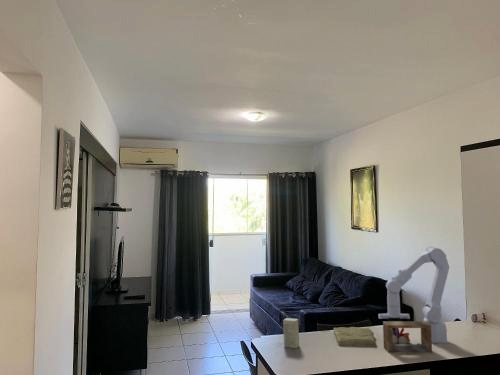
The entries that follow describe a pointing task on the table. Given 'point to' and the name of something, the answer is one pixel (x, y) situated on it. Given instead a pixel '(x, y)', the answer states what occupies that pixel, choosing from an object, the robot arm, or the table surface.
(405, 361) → the table surface
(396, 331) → the multicoloured spiky piece
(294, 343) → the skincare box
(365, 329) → the folded green towel
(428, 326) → the walnut shelf
